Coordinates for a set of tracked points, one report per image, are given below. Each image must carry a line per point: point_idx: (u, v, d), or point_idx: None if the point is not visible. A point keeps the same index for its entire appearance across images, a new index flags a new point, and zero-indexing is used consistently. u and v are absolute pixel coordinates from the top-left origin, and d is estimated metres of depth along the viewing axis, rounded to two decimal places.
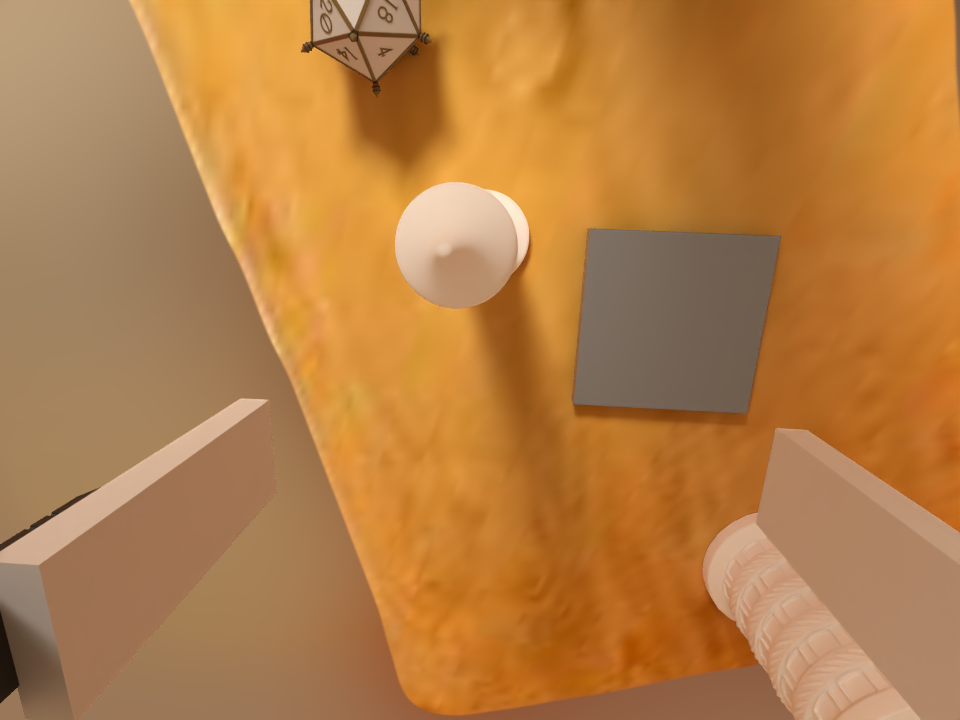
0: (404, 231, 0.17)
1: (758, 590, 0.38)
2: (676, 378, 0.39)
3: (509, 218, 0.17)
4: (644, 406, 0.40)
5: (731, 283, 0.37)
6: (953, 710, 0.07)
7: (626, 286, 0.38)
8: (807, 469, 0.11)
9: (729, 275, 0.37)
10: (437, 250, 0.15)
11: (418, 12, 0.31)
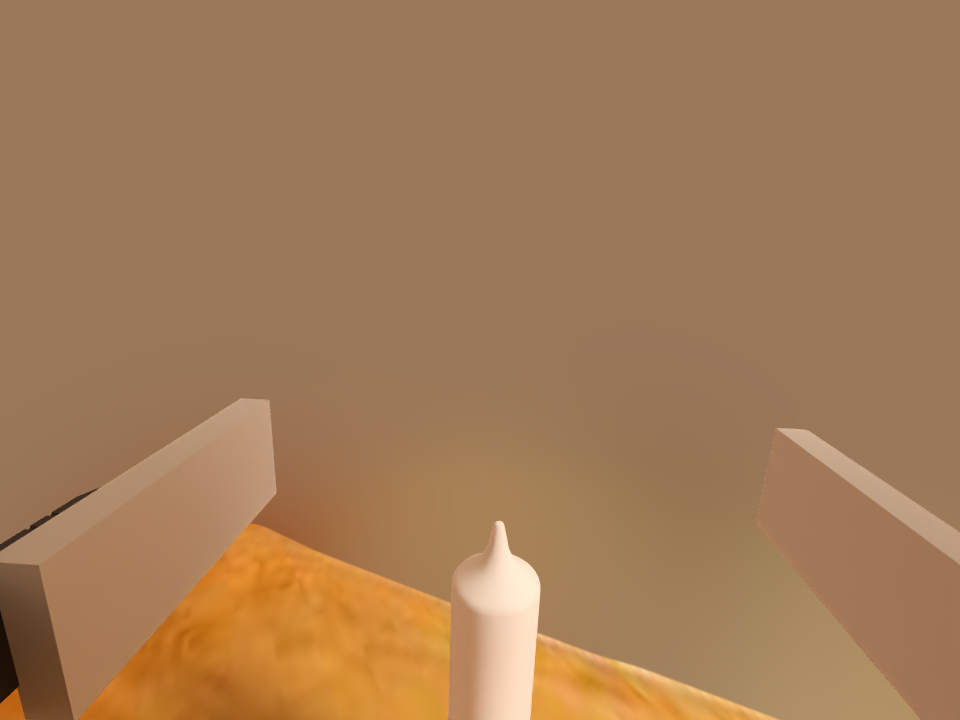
0: (525, 563, 0.26)
1: None
2: None
3: (487, 611, 0.23)
4: None
5: None
6: (953, 710, 0.07)
7: None
8: (807, 470, 0.11)
9: None
10: (501, 522, 0.24)
11: None
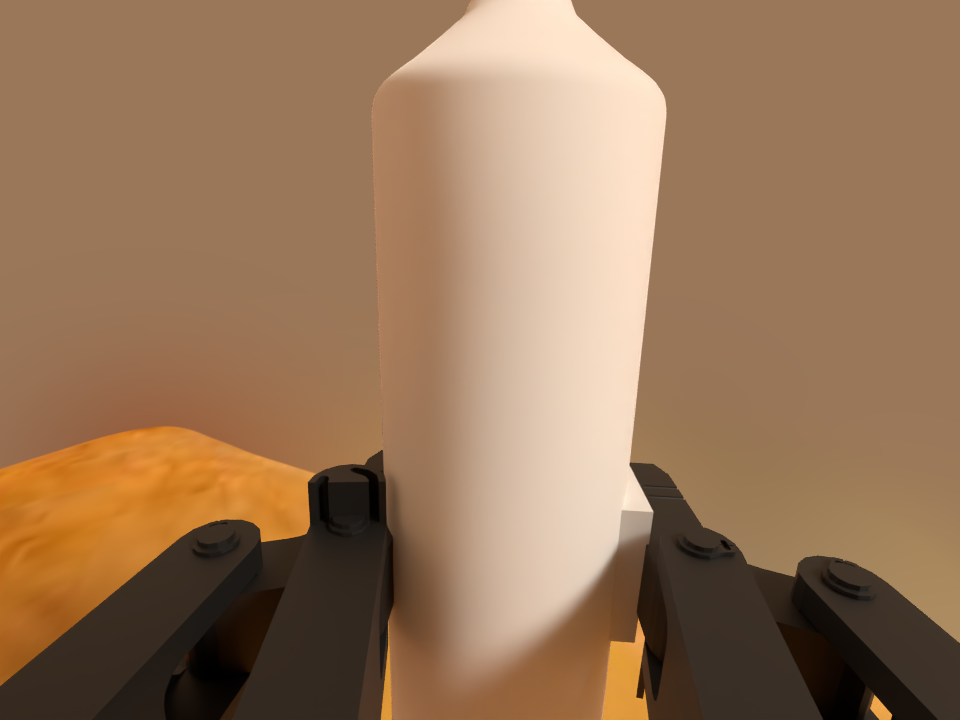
0: None
1: None
2: None
3: (486, 61, 0.06)
4: None
5: None
6: None
7: None
8: None
9: None
10: None
11: None
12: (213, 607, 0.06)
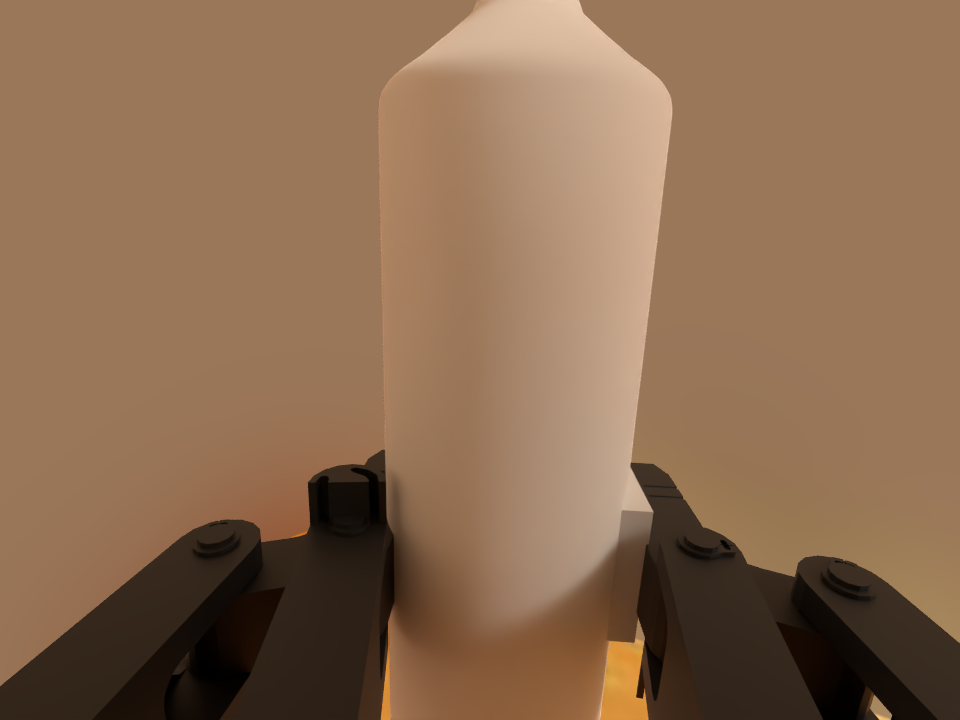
0: None
1: None
2: None
3: (494, 58, 0.06)
4: None
5: None
6: None
7: None
8: None
9: None
10: None
11: None
12: (213, 607, 0.06)
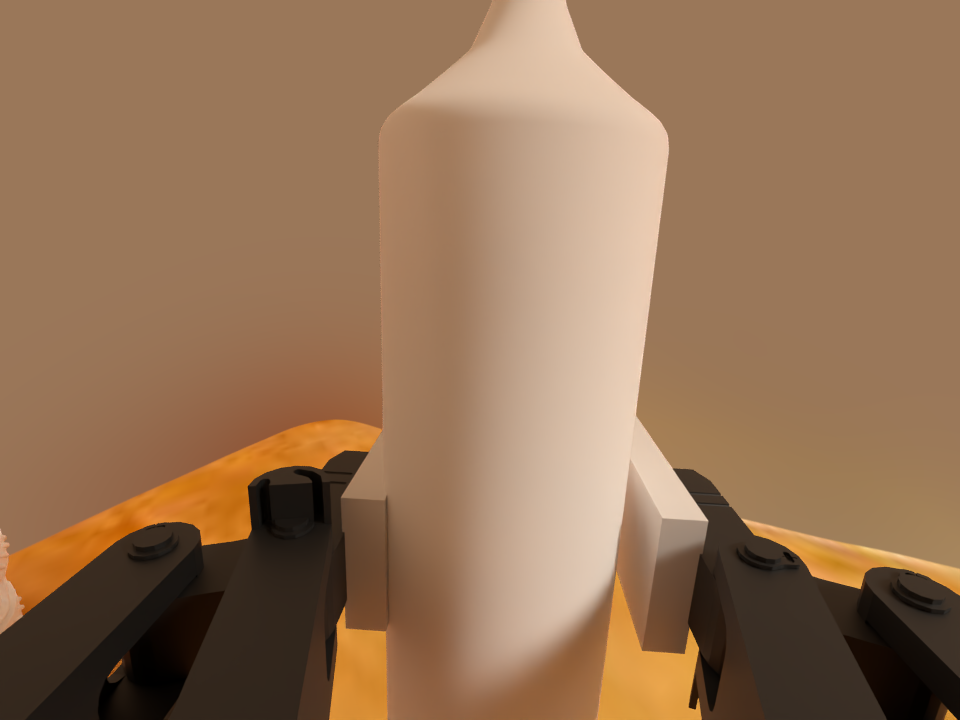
0: None
1: None
2: None
3: (490, 102, 0.06)
4: None
5: None
6: (634, 589, 0.09)
7: None
8: None
9: None
10: None
11: None
12: (150, 610, 0.06)
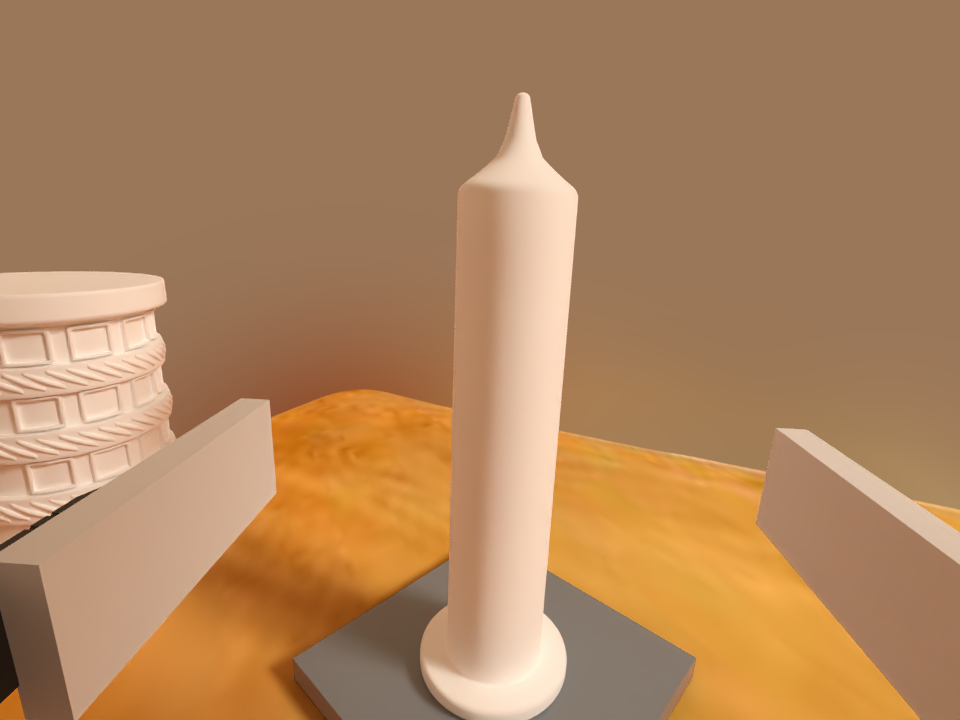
0: None
1: None
2: (424, 620, 0.26)
3: (506, 185, 0.16)
4: (425, 576, 0.29)
5: None
6: (953, 710, 0.07)
7: (589, 646, 0.25)
8: (807, 470, 0.11)
9: None
10: None
11: None
12: None
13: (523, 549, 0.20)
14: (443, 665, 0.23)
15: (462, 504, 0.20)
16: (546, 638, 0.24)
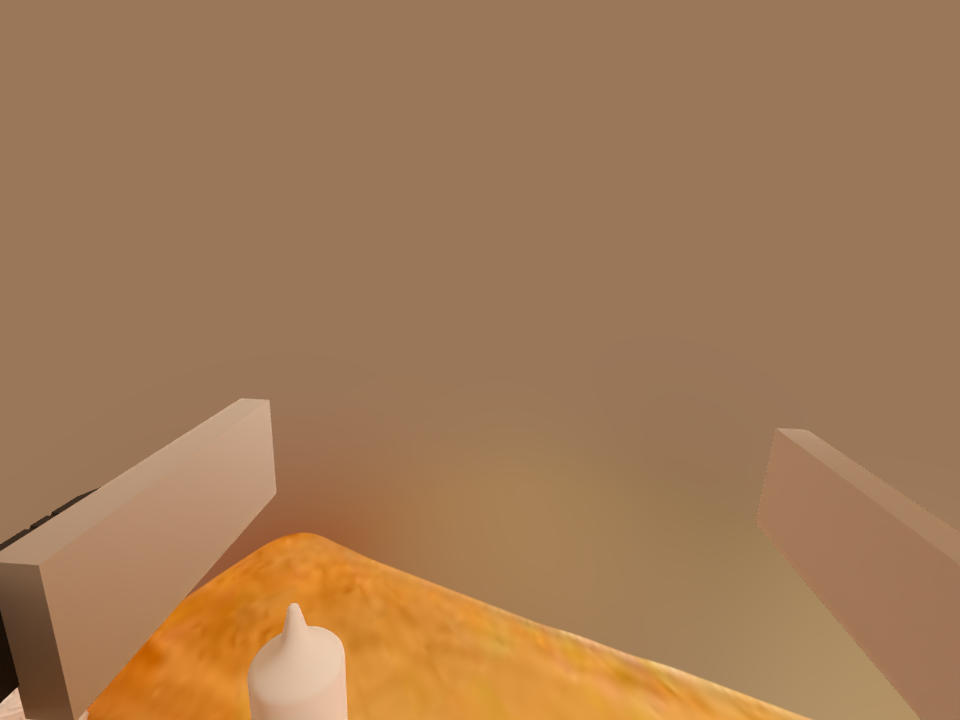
0: (335, 641, 0.25)
1: None
2: None
3: (268, 700, 0.22)
4: None
5: None
6: (953, 710, 0.07)
7: None
8: (807, 470, 0.11)
9: None
10: (297, 604, 0.24)
11: None
12: None
13: None
14: None
15: None
16: None
